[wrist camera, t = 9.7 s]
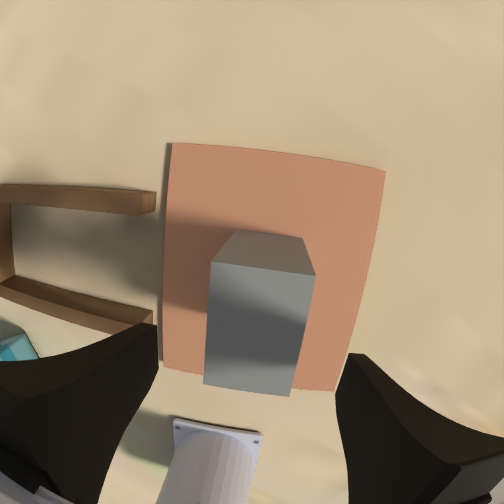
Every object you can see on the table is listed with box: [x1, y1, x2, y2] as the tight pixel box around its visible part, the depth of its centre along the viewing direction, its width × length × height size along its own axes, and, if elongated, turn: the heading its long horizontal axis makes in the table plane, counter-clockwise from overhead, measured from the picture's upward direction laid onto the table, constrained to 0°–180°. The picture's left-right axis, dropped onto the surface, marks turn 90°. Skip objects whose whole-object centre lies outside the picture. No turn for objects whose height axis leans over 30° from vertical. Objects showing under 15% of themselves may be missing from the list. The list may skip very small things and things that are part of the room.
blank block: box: [203, 229, 316, 397], centre depth 16 cm, size 6×4×7 cm, turn 173°
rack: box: [0, 184, 156, 335], centre depth 19 cm, size 10×16×4 cm, turn 83°
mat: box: [163, 143, 386, 391], centre depth 19 cm, size 16×13×1 cm
